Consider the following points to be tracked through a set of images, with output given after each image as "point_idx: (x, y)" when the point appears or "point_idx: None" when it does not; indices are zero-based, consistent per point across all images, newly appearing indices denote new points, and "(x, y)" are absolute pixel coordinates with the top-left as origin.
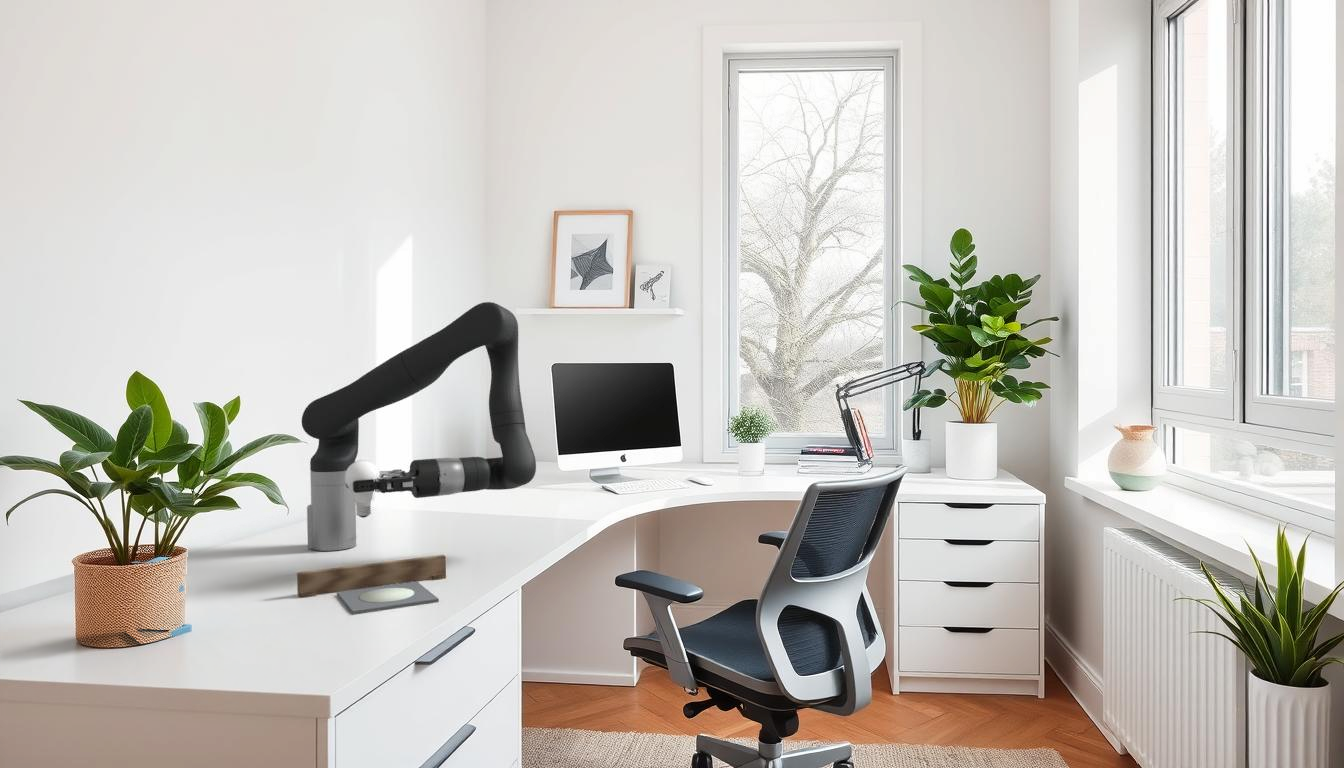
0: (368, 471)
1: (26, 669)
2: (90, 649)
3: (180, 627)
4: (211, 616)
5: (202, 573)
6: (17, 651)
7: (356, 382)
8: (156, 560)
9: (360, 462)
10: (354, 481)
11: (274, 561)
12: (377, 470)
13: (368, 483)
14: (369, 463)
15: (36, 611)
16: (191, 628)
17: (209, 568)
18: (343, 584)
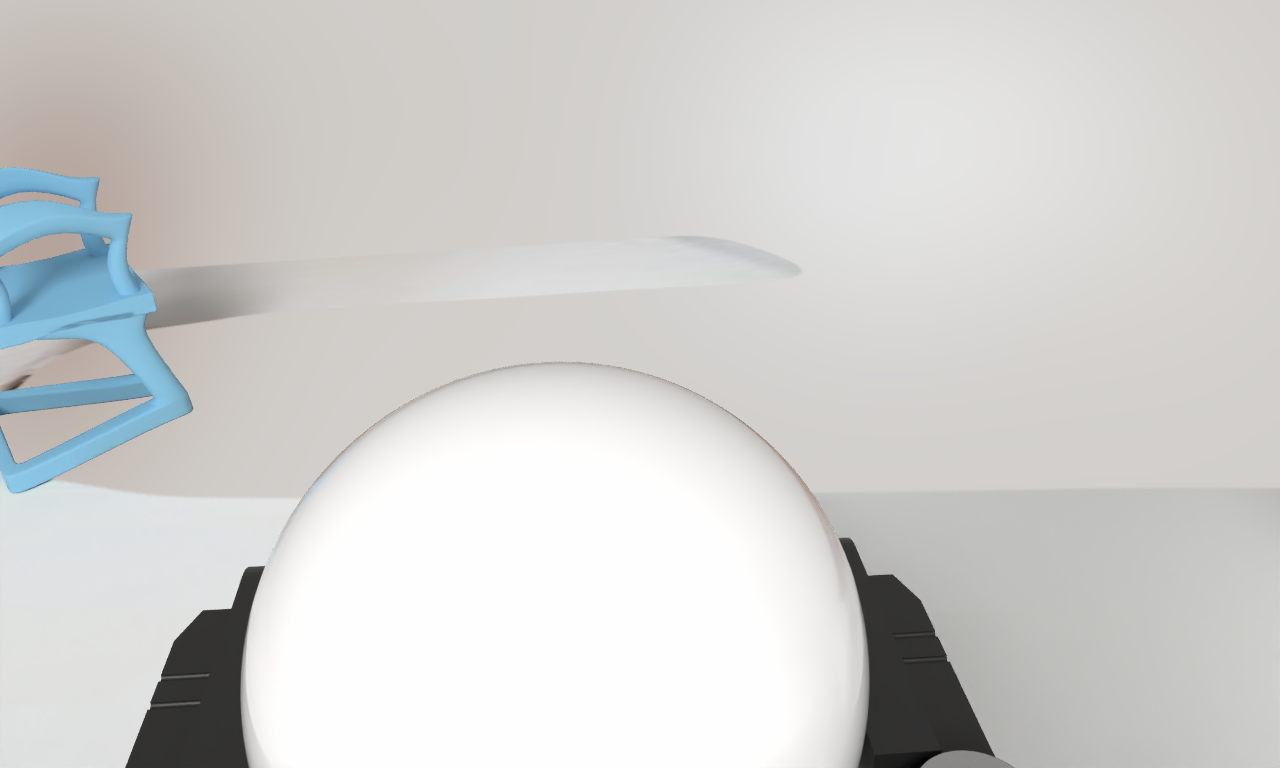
0: (252, 621)
1: None
2: (73, 346)
3: (6, 455)
4: (171, 533)
5: (1002, 502)
6: (208, 271)
7: None
8: None
9: (425, 404)
10: (258, 566)
11: (1270, 750)
12: None
13: (136, 752)
14: (381, 534)
15: (609, 263)
16: (11, 486)
17: (1109, 519)
18: None
